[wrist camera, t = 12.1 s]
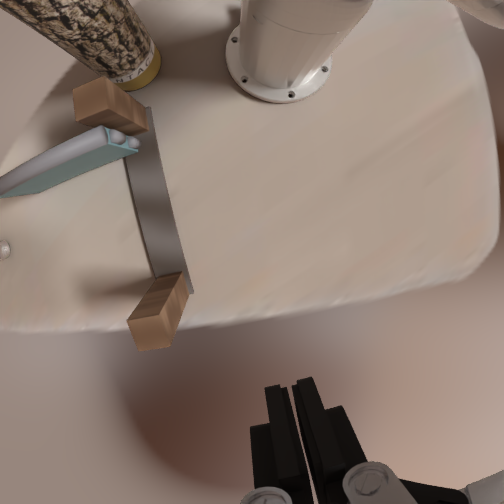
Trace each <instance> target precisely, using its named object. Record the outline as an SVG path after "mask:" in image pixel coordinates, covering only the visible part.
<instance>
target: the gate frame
mask: <svg viewBox="0 0 504 504" xmlns="http://www.w3.org/2000/svg"><path fill="white" fill-rule="evenodd" d="M72 91H73V101H74V110H75V118H76V122H79V123H82V124H85V125H88V126H91V127H94V128H96V127H98V126H100V125H103V126H104V127H105V128H108V129H114V130H117V131H119V132H122V133H124V134H125V135H126V136H132V137H134V138H137V139H139V140H140V141H141V147H140V148H139V149H138V152H137V153H134V154H131V155H128V156H126V157H125V158H126V163H127V168H128V173H129V177H130V182H131V187H132V191H133V195H134V200H135V204H136V208H137V212H138V216H139V220H140V224H141V228H142V232H143V235H144V239H145V243H146V246H147V250H148V254H149V257H150V261H151V264H152V267H153V271H154V274H155V278H156V281H155V282H154V284H153V285H152V286H151V288H150V289H149V290H148V292H147V293H146V295H145V296H144V297H143V299H142V300H141V301H140V303H139V304H138V306H137V307H136V308H135V310H134V311H133V312H132V314H131V315H130V317H129V318H128V319H127V323H128V326H129V328H130V331H131V334H132V336H133V339H134V341H135V343H136V346H137V348H138V351H144V350H151V349H158V348H165V347H170V346H171V343H172V341H173V338H174V335H175V332H176V329H177V327H178V324H179V321H180V318H181V316H182V313H183V310H184V308H185V305H186V302H187V299H188V297H189V294H193V293H194V290H193V287H192V283H191V280H190V276H189V273H188V269H187V265H186V262H185V258H184V254H183V250H182V247H181V243H180V239H179V235H178V231H177V227H176V223H175V219H174V215H173V211H172V207H171V203H170V198H169V194H168V190H167V186H166V181H165V177H164V172H163V168H162V163H161V158H160V153H159V149H158V144H157V139H156V134H155V129H154V123H153V118H152V113H151V107H146V108H145V107H144V106H143V105H141V104H140V103H139V102H137V101H136V100H135V99H134V98H132V97H131V96H130V95H128V94H127V93H126V92H125V91H123V90H122V89H121V88H119V87H118V86H117V85H115V84H114V83H113V82H111V81H110V80H109V79H107V78H106V77H105V76H102V77H100V78H97V79H95V80H93V81H90V82H88V83H86V84H83V85H81V86H79V87H77V88H75V89H72Z"/></svg>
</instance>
